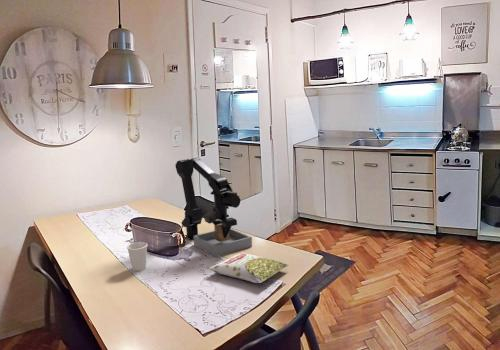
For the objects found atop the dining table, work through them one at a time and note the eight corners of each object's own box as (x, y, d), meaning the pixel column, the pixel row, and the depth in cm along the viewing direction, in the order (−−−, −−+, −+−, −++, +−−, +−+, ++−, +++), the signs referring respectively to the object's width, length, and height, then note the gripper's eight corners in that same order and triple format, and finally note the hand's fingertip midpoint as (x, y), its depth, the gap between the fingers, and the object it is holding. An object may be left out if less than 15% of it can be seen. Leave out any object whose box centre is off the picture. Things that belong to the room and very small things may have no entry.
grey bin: (193, 244, 200) (193, 235, 199) (229, 235, 212) (228, 227, 211) (215, 256, 184) (214, 247, 183) (252, 246, 195) (251, 237, 195)
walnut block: (215, 239, 198) (214, 225, 197) (223, 237, 201) (223, 223, 199) (220, 242, 194) (219, 227, 193) (229, 239, 197) (228, 225, 195)
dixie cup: (138, 273, 169) (136, 250, 167) (124, 269, 173) (122, 247, 172) (153, 266, 176) (151, 243, 174) (139, 262, 180) (137, 240, 179)
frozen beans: (260, 275, 149) (206, 261, 163) (260, 290, 150) (207, 276, 164) (288, 258, 166) (238, 247, 180) (288, 271, 167) (238, 260, 181)
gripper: (195, 203, 197) (197, 235, 200) (215, 211, 182) (217, 245, 185) (215, 199, 203) (217, 230, 206) (237, 207, 188) (238, 240, 191)
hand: (222, 236), depth 197 cm, fingers closed on walnut block, 5 cm apart
